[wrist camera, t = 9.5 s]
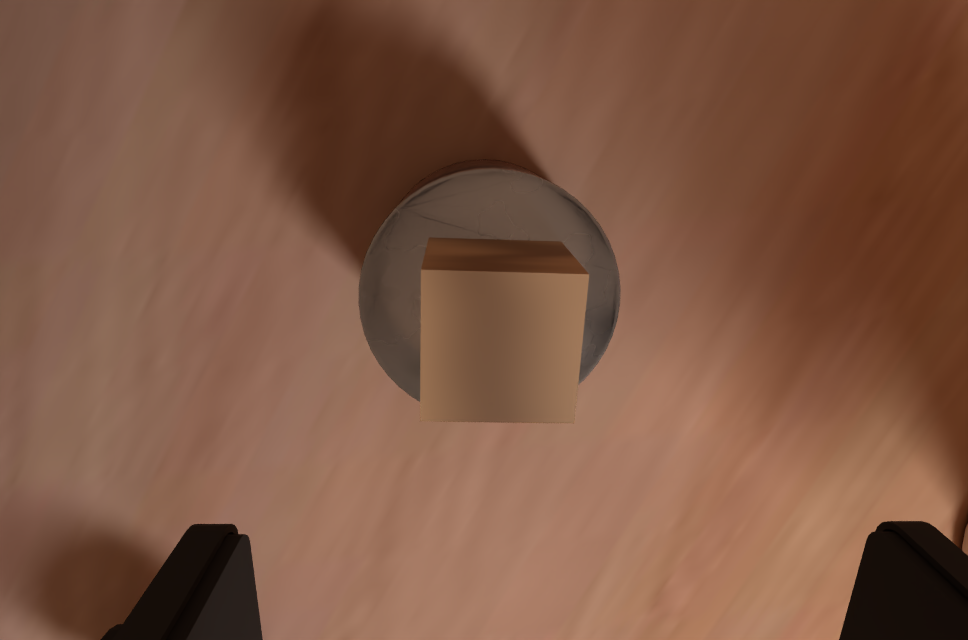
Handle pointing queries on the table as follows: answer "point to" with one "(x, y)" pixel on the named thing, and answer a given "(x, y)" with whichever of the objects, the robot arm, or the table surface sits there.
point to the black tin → (477, 215)
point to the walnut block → (500, 331)
